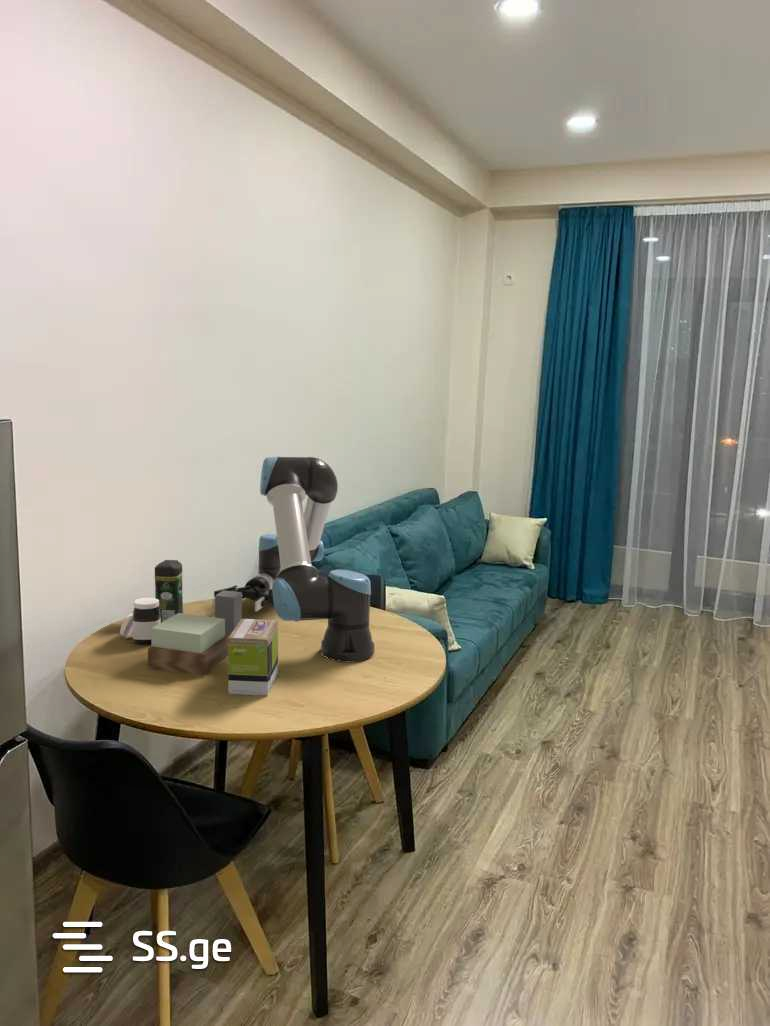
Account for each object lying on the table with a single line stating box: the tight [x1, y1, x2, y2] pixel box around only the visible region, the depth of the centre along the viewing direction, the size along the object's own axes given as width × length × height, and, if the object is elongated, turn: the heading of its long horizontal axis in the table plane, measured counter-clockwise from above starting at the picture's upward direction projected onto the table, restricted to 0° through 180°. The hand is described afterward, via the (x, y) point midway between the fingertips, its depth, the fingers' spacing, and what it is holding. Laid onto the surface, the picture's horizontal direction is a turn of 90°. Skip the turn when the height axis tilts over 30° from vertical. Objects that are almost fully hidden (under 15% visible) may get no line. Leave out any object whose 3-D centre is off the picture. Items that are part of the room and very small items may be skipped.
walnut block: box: [147, 635, 230, 676], centre depth 202 cm, size 16×16×6 cm
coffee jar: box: [154, 559, 184, 622], centre depth 235 cm, size 10×8×19 cm
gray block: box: [214, 590, 243, 635], centre depth 226 cm, size 6×6×12 cm
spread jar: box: [119, 597, 161, 645], centre depth 217 cm, size 12×11×12 cm
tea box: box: [227, 618, 279, 696], centre depth 189 cm, size 15×10×15 cm
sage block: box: [150, 612, 225, 653], centre depth 202 cm, size 14×14×5 cm
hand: (234, 605), depth 231 cm, fingers open, 13 cm apart
